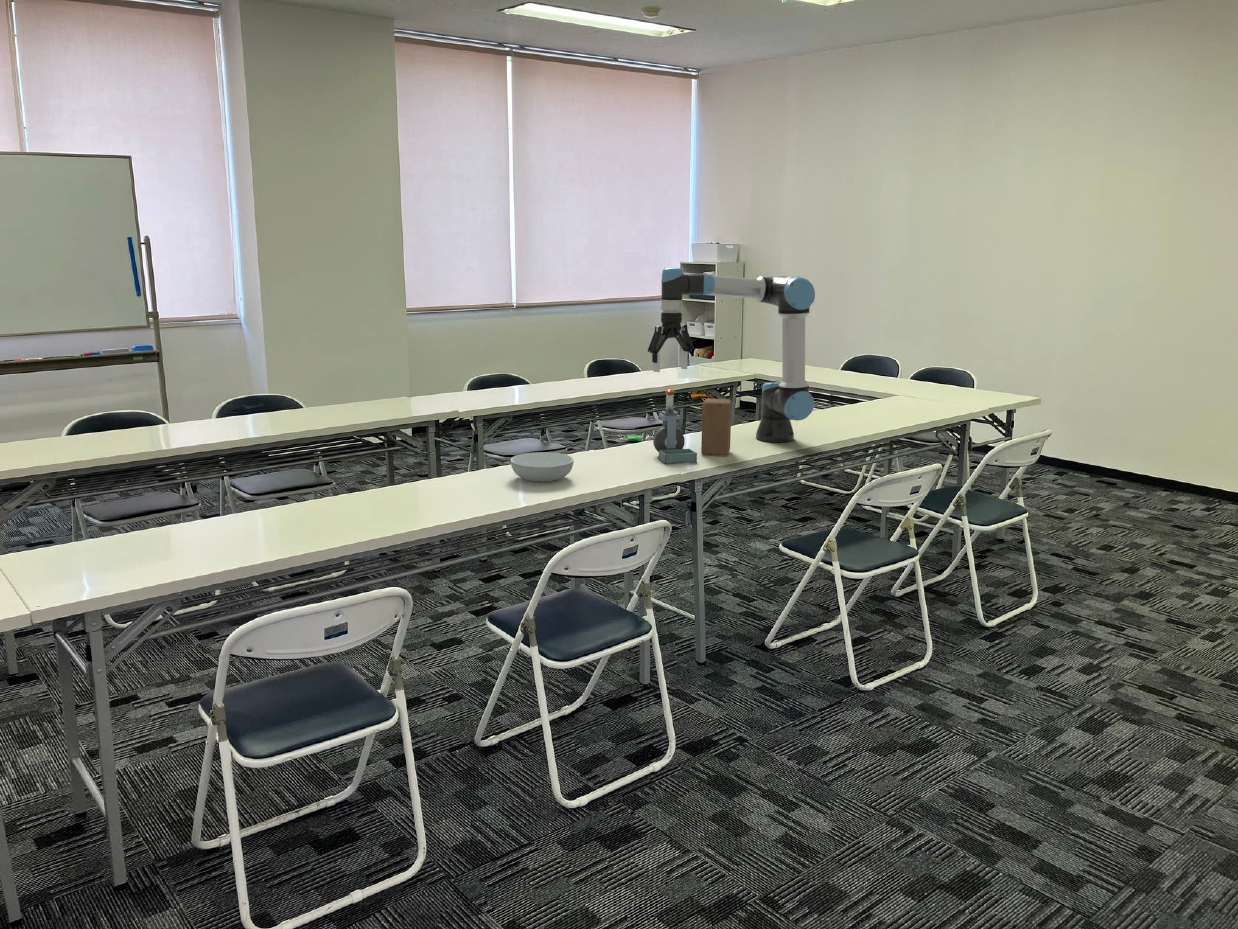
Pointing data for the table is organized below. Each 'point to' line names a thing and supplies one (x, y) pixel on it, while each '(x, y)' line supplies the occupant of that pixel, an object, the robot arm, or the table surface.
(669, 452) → the tray
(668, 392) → the stop pin
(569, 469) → the serving bowl
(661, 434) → the wheel stand
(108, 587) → the table surface
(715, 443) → the wooden block
